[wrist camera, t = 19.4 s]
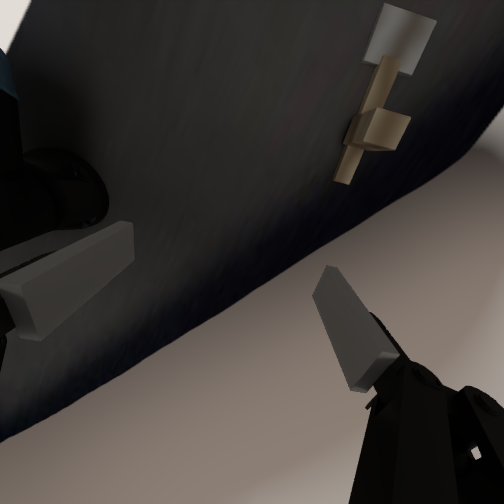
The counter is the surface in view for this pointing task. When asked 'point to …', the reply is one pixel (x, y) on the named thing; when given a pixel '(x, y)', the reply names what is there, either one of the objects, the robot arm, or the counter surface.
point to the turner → (384, 85)
